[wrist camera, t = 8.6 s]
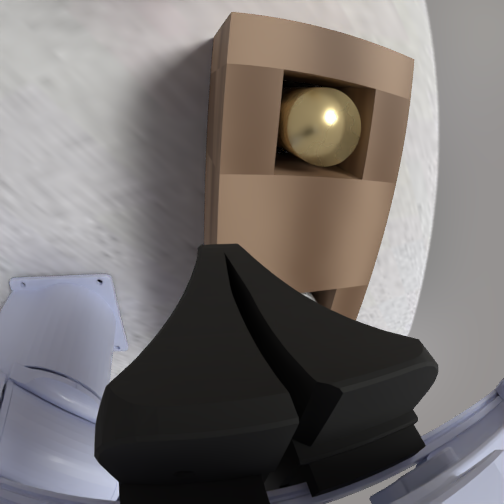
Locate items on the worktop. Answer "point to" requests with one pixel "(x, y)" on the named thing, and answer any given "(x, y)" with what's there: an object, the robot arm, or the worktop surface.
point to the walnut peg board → (294, 168)
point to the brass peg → (318, 125)
